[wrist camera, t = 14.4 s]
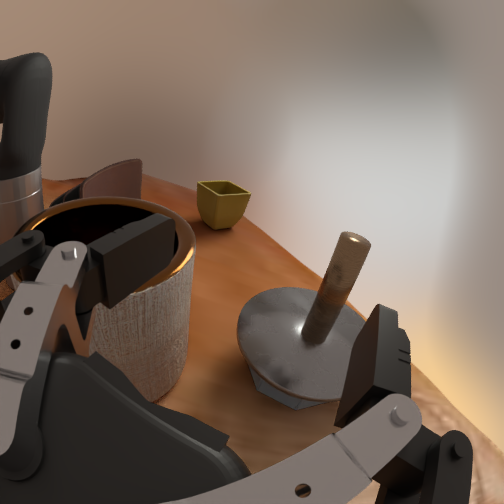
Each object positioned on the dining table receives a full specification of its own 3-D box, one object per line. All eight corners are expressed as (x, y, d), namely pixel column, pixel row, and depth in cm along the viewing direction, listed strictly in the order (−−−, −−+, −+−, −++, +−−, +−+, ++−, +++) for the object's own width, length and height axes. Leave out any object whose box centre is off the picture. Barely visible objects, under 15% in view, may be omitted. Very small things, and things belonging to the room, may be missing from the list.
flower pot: (222, 214, 69) (228, 179, 64) (244, 230, 64) (252, 192, 59) (191, 218, 63) (196, 181, 59) (211, 236, 58) (218, 195, 54)
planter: (208, 399, 27) (231, 286, 19) (49, 421, 18) (-21, 308, 10) (166, 295, 40) (174, 193, 32) (51, 306, 31) (30, 199, 23)
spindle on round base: (224, 291, 35) (244, 192, 28) (339, 291, 40) (372, 212, 34) (258, 416, 21) (312, 307, 14) (400, 382, 26) (465, 294, 20)
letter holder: (140, 215, 60) (145, 154, 53) (87, 256, 43) (83, 178, 36) (107, 206, 61) (108, 149, 54) (51, 242, 43) (44, 171, 36)
